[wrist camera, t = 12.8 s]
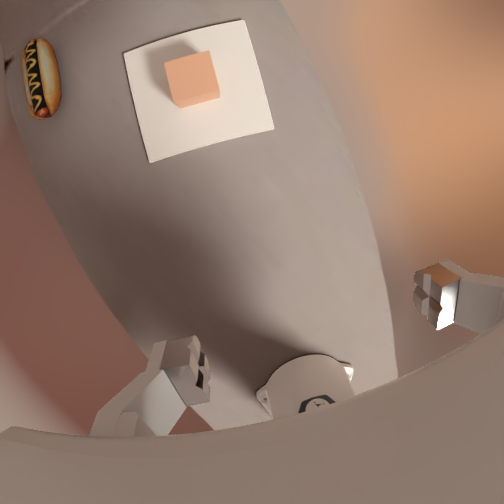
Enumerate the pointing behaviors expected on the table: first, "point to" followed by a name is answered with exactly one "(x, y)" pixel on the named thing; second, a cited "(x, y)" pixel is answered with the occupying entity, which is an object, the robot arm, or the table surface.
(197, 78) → the cube
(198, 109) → the mat
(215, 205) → the table surface
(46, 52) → the hot dog
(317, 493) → the robot arm
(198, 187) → the table surface
